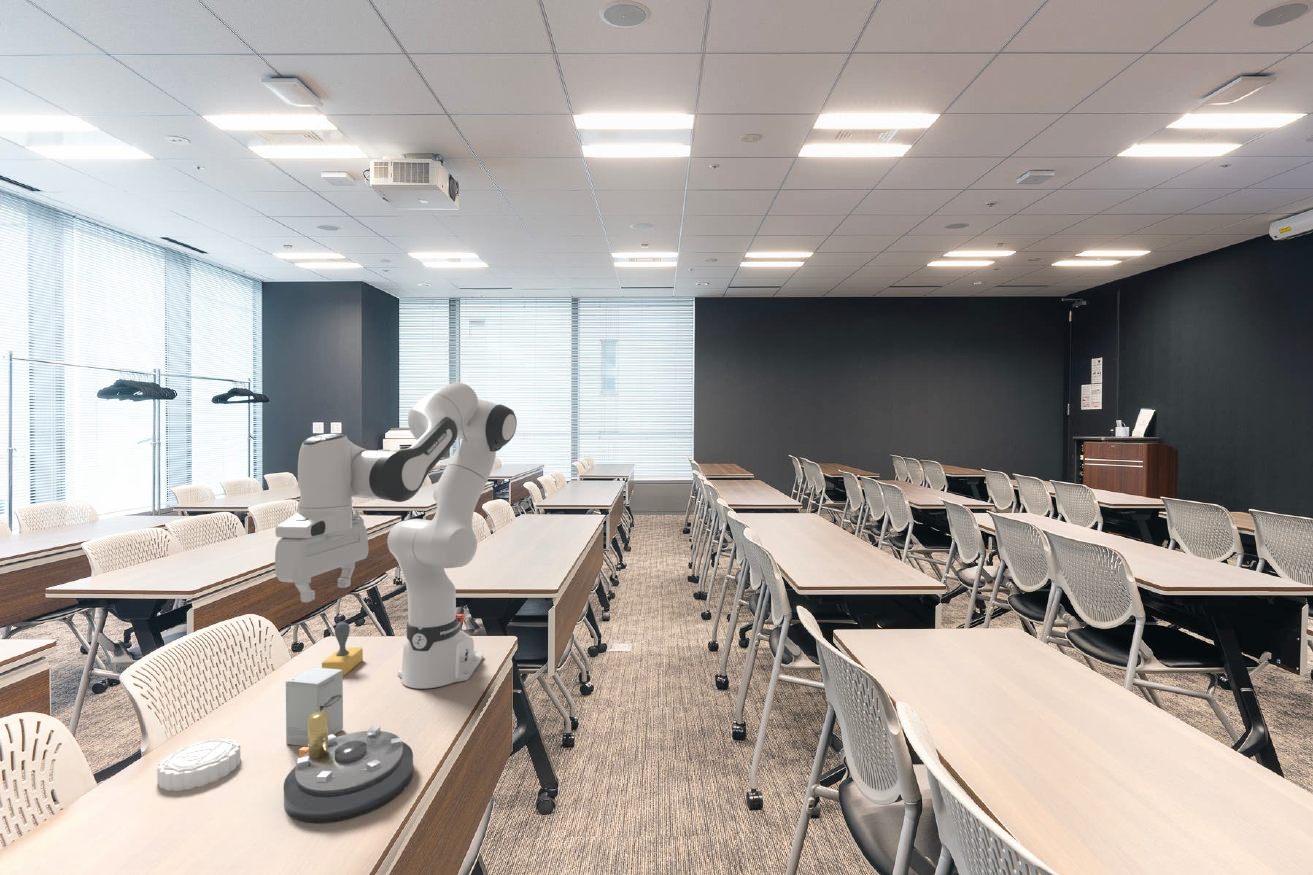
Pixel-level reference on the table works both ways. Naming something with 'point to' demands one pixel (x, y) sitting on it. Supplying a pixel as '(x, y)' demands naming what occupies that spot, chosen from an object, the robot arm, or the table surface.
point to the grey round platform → (346, 795)
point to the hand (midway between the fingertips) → (326, 593)
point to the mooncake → (198, 764)
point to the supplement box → (313, 702)
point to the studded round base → (345, 759)
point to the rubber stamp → (343, 652)
